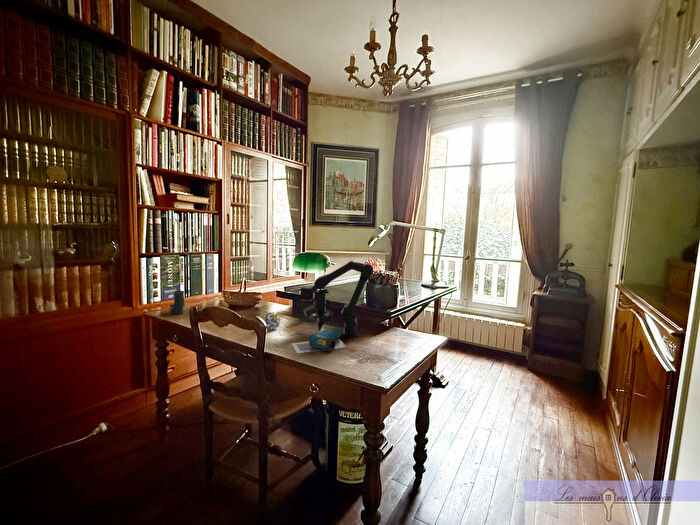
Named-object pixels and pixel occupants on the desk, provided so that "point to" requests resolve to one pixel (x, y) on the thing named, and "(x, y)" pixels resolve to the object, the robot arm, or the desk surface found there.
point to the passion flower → (272, 320)
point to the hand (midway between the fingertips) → (319, 330)
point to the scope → (177, 303)
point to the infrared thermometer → (325, 339)
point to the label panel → (306, 347)
